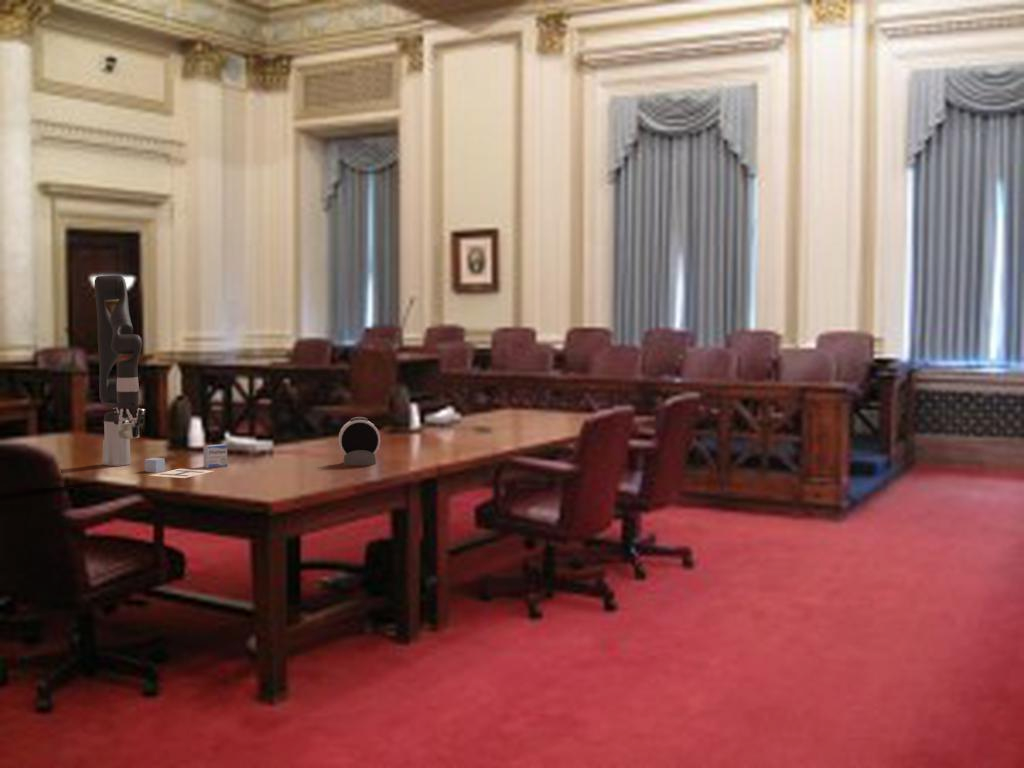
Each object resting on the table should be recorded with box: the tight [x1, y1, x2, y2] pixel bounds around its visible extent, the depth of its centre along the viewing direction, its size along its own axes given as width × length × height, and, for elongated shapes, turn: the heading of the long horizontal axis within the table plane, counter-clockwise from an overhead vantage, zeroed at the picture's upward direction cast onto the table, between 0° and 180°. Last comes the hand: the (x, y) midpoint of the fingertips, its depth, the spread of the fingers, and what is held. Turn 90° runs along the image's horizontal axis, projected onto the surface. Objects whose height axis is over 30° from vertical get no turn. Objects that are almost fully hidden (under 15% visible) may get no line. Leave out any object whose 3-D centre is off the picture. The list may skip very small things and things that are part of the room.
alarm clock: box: [338, 416, 381, 466], centre depth 457 cm, size 16×10×18 cm, turn 101°
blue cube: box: [144, 457, 166, 473], centre depth 436 cm, size 5×5×5 cm
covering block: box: [118, 422, 140, 440], centre depth 421 cm, size 5×5×5 cm
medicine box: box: [202, 443, 228, 469], centre depth 447 cm, size 8×4×9 cm, turn 126°
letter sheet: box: [148, 468, 214, 479], centre depth 430 cm, size 16×18×1 cm
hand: (129, 436), depth 421 cm, fingers closed on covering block, 5 cm apart
